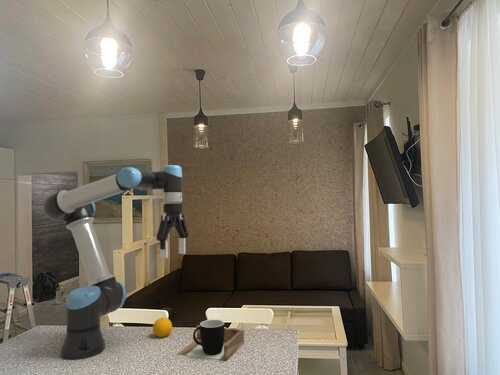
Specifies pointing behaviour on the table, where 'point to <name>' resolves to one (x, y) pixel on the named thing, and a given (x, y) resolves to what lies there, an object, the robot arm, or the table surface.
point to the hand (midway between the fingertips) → (173, 255)
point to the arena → (231, 343)
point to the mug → (211, 336)
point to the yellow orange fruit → (162, 327)
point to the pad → (199, 353)
